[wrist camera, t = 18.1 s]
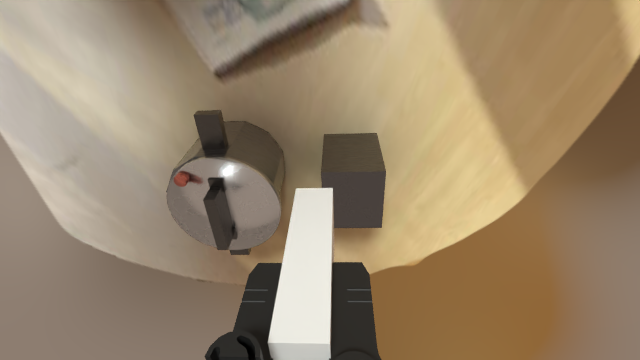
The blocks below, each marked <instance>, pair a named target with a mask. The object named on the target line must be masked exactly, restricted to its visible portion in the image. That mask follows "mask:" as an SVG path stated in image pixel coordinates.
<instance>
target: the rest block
mask: <svg viewBox="0 0 640 360" xmlns="http://www.w3.org/2000/svg"><path fill="white" fill-rule="evenodd" d="M385 177H386V170H385V165H384V161H383V157H382V153H381V149H380V145H379V140H378V136H377V133H366V134H324V142H323V155H322V169H321V178H322V188H333V211H334V228H382V217H383V203H384V190H385Z"/></svg>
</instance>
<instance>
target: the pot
mask: <svg viewBox="0 0 640 360" xmlns="http://www.w3.org/2000/svg"><path fill="white" fill-rule="evenodd" d="M194 118H195V122H196V126H197V129H198V133H199V139H198V140H197V141H196V142H195V144H194V145H193V146H192V147H191V149H190V150H189V151H188V152H187V154H186V155H185V156H184V157H183V158H182V160H181V161H180V162H179V163H178V165H177V166H176V167H175V168H174V170H173V172H172V175H171V179H172V178H173V176H174V175H175V174H176V172H177V171H178V170H179V169H180V168H181V167H182V166H183V165H185V164H186V163H188V162H190V161H191V160H194V159H197V158H199V157H204V156H213V155H216V156H227V157H232V158H236V159H239V160H242V161H244V162H247V163H249V164H251V165H252V166H254V167H256V168H257V169H259V170H260V171H261V172H262V173H264V174H265V175H266V176H267V177H268V178H269V179H270V180H271V182H272V183H273V184H274V186H275V188H276V189H277V191H278V194H279V195H280V191H281V187H282V183H283V179H284V175H285V165H284V157H283V151H282V150H281V148H280V147H279V145H278V144H277V142H276V141H275V140H274V139H273V138H272V137H271V135H270V134H269V133H268V132H266V131H264V130H263V129H261V128H259V127H257V126H255V125H252V124H249V123H247V122H239V121H230V122H224V121H223V116H222V112H221V110H211V111H197V112H196V113H195V114H194ZM171 179H170V181H171ZM169 183H170V182H169ZM168 186H169V185H168ZM167 190H168V188H167ZM166 192H167V191H166ZM250 251H251V248H248V249H242V250H230V253H231V255H249V254H250Z"/></svg>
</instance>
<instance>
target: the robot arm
mask: <svg viewBox="0 0 640 360" xmlns="http://www.w3.org/2000/svg"><path fill="white" fill-rule="evenodd" d="M205 358H206V360H381V358H380V356H379V354H378V349H377V343H376V333H375V324H374V314H373V304H372V295H371V286H370V277H369V273H368V272H367V270H366V268H365V267H364V265H363V264H362V262H334V211H333V188H296V192H295V197H294V203H293V208H292V213H291V219H290V224H289V230H288V235H287V241H286V246H285V251H284V257H283V262H282V263H258V264H257V266H256V267H255V268H254V269H253V271H252V272H251V273H250V274H249V277H248V280H247V284H246V287H245V292H244V295H243V298H242V303H241V305H240V308H239V312H238V316H237V319H236V323H235V327H234V330H233V332H229V333H227V334H225V335H223V336H221V337H219V338H218V339H217V340H216V341H215V342H214V343H213V344H212V345H211V346H210V347H209V349H208V351H207V353H206V355H205Z"/></svg>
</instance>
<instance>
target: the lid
mask: <svg viewBox="0 0 640 360" xmlns="http://www.w3.org/2000/svg"><path fill="white" fill-rule="evenodd" d="M167 203H168V207H169V210H170V212H171V214H172V216H173V218H174V219H175V221H176V222H177V223H178V225H179V226H180V227H181V228H182V229H183V230H184V231H185V232H186V233H188V234H189V235H190V236H192V237H193V238H195V239H196V240H198V241H200V242H202V243H205V244H207V245H210V246H213V247H216V248H217V249H218V250H242V249H248V248H252V247H255V246H257V245H260V244H262V243H263V242H265V241H266V240H268V239H269V238H270V237H271V236H272V235H273V234H274V232H275V231H276V229H277V227H278V225H279V221H280V217H281V211H282V206H281V200H280V196H279V194H278V191H277V189H276V188H275V186H274V184H273V183H272V182H271V180H270V179H269V178H268V177H267V176H266V175H265V174H264V173H262V172H261V171H260V170H259V169H257V168H256V167H254V166H252V165H251V164H249V163H247V162H244V161H242V160H239V159H236V158H232V157H227V156H216V155H213V156H204V157H199V158H197V159H194V160H191V161H190V162H188V163H186V164H185V165H183V166H182V167H181V168H180V169H179V170H178V171H177V172H176V174H175V175H174V176H173V178H172V179H171V181H170V183H169V186H168V190H167Z"/></svg>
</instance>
